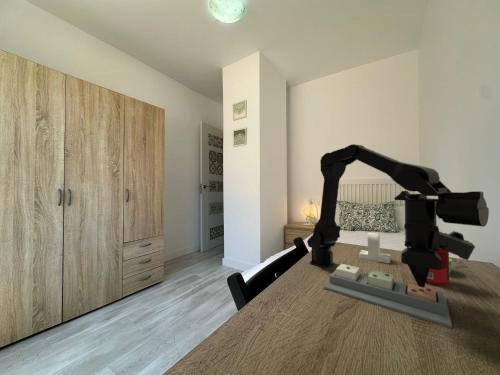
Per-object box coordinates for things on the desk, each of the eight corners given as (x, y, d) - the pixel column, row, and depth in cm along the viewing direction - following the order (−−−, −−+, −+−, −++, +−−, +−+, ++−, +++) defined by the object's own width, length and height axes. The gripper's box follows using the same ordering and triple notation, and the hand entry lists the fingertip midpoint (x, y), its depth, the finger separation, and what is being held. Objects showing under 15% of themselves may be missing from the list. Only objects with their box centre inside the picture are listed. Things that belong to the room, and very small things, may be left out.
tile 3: (407, 301, 47) (407, 290, 47) (408, 292, 51) (408, 282, 51) (436, 309, 44) (436, 297, 44) (435, 299, 48) (435, 288, 48)
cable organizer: (361, 254, 84) (361, 230, 84) (390, 259, 78) (390, 233, 78) (359, 258, 80) (358, 232, 80) (389, 263, 74) (389, 236, 74)
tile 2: (368, 285, 52) (368, 275, 53) (371, 278, 56) (371, 269, 56) (391, 291, 49) (391, 280, 49) (393, 283, 53) (393, 274, 53)
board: (323, 288, 56) (323, 279, 56) (339, 272, 66) (339, 264, 66) (451, 327, 39) (451, 315, 39) (445, 298, 50) (445, 288, 50)
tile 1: (336, 276, 58) (336, 267, 58) (341, 271, 62) (341, 263, 62) (355, 281, 54) (355, 272, 54) (359, 275, 58) (359, 266, 58)
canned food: (456, 287, 55) (456, 247, 56) (423, 285, 57) (422, 245, 57) (437, 275, 63) (436, 240, 63) (407, 273, 64) (407, 239, 65)
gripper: (479, 230, 35) (481, 320, 35) (463, 218, 50) (464, 282, 49) (400, 224, 43) (401, 298, 42) (406, 215, 57) (407, 270, 57)
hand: (421, 286), depth 48 cm, fingers closed
